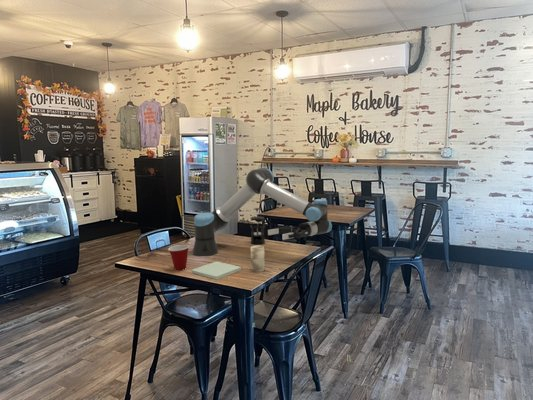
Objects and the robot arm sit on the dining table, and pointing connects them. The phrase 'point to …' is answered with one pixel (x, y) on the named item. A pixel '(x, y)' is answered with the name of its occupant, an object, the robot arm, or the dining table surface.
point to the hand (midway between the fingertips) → (275, 234)
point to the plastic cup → (179, 256)
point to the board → (216, 270)
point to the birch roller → (257, 258)
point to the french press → (257, 239)
